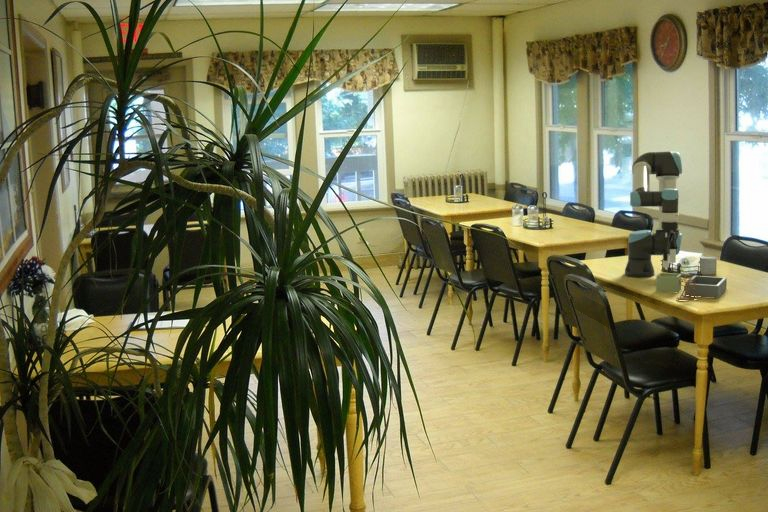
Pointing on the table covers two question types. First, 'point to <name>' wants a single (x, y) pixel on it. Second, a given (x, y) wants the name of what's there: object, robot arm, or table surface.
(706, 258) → the medicine box
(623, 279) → the table surface
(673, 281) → the block
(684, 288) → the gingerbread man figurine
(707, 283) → the grey open rectangular box
